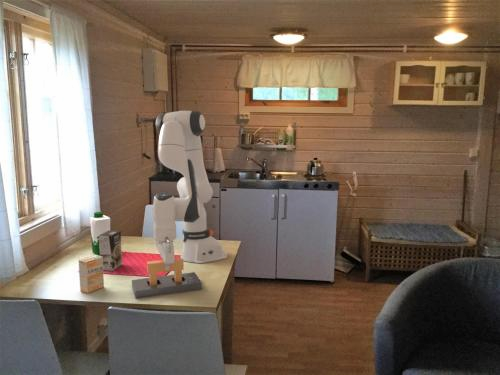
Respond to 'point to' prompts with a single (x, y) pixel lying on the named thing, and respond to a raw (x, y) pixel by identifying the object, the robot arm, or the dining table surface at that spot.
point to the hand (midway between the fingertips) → (165, 267)
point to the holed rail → (166, 285)
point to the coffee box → (110, 249)
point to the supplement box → (91, 273)
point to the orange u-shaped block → (158, 267)
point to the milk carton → (98, 229)
